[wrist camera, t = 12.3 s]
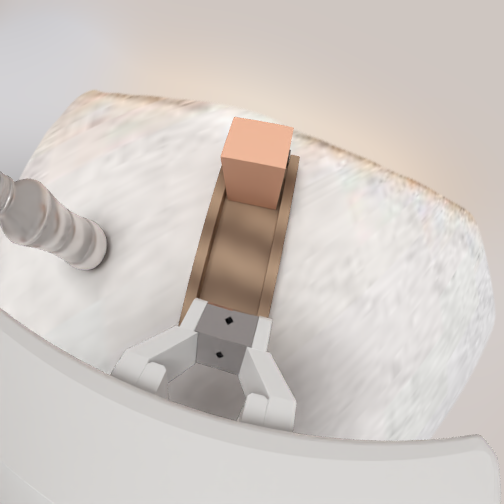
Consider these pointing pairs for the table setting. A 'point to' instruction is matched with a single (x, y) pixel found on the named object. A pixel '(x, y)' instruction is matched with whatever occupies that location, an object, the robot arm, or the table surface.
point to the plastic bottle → (48, 224)
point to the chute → (241, 250)
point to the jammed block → (255, 161)
